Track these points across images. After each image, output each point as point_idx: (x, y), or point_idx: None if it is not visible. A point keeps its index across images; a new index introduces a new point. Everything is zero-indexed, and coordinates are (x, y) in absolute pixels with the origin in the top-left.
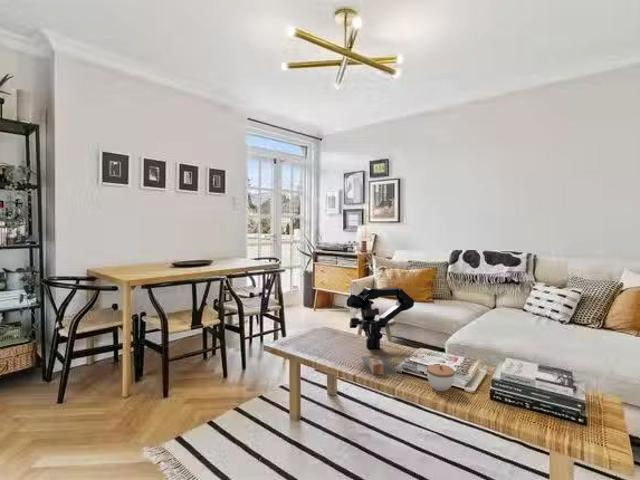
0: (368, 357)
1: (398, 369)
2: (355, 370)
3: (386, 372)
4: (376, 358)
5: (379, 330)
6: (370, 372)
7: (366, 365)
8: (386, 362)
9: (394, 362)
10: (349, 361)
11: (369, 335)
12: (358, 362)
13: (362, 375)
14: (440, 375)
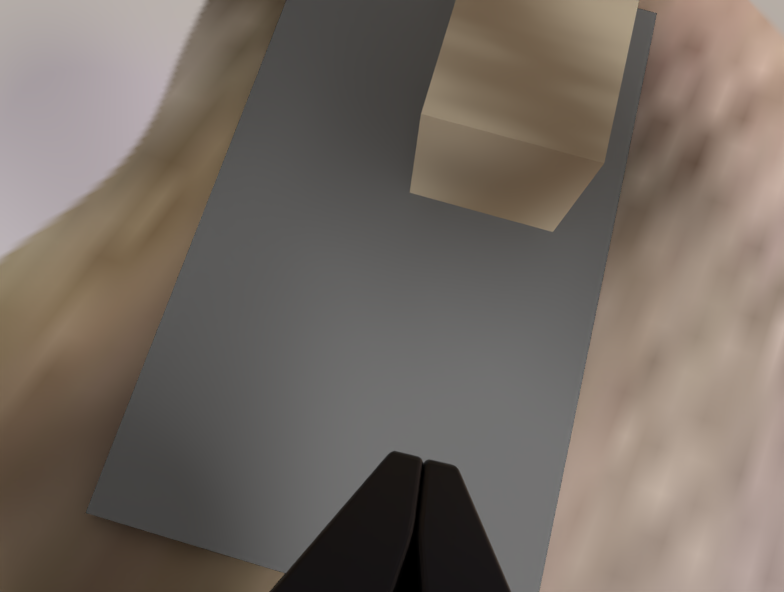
0: None
1: (193, 26)
2: (780, 182)
3: None
4: (513, 22)
5: None
6: None
7: (586, 238)
8: (230, 238)
9: (88, 242)
10: (781, 523)
11: (489, 542)
12: (644, 431)
13: (734, 28)
14: None
